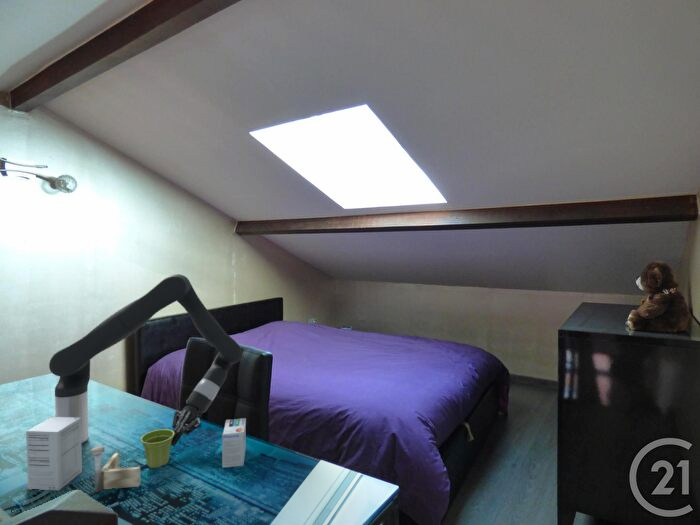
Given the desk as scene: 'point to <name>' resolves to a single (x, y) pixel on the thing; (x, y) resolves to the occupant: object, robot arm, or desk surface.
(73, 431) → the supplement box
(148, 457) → the plant pot
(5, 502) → the desk surface
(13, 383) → the desk surface
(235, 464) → the light bulb box
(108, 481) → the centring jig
